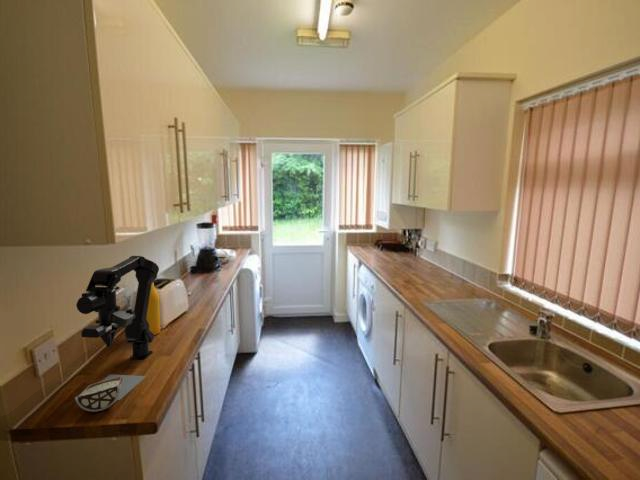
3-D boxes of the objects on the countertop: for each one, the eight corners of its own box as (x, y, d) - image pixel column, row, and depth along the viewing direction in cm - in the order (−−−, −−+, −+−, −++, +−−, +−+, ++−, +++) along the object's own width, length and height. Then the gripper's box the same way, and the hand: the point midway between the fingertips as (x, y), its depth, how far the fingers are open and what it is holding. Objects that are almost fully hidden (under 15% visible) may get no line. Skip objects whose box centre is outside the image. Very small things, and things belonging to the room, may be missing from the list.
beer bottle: (164, 332, 166) (162, 274, 162) (146, 338, 158) (143, 278, 155) (154, 328, 171) (151, 272, 167) (135, 334, 163) (132, 275, 160)
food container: (88, 404, 110) (77, 419, 101) (84, 386, 110) (73, 399, 101) (130, 391, 114) (123, 405, 105) (126, 374, 114) (119, 386, 104)
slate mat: (110, 374, 125) (110, 374, 125) (146, 376, 124) (146, 376, 124) (78, 398, 110) (78, 397, 110) (119, 400, 109) (119, 400, 109)
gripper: (110, 314, 110) (113, 359, 112) (144, 298, 129) (146, 337, 130) (78, 313, 111) (81, 358, 113) (116, 297, 129) (118, 336, 131)
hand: (109, 346), depth 122 cm, fingers closed
